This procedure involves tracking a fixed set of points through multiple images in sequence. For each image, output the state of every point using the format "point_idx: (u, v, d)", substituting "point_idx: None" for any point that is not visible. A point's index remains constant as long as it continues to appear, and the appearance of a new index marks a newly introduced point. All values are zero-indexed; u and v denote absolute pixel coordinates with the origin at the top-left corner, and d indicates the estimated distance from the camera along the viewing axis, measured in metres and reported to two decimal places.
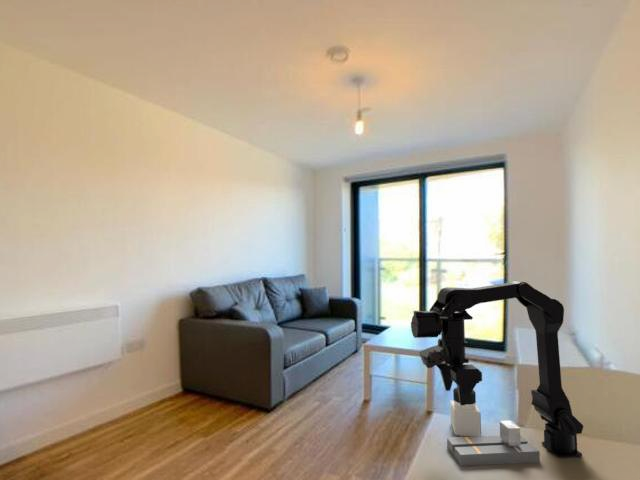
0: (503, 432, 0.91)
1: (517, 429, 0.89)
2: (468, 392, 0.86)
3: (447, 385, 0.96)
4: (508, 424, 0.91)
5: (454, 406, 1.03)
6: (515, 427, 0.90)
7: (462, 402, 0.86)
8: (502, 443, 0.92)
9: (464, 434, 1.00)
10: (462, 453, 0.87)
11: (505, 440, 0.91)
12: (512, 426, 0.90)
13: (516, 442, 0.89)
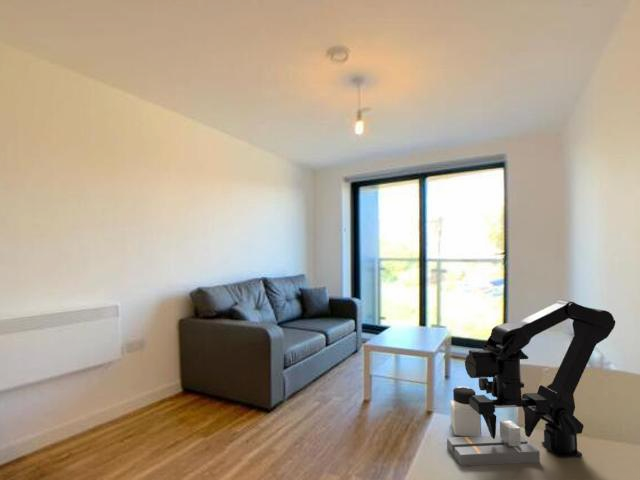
0: (503, 432, 0.91)
1: (517, 429, 0.89)
2: (490, 426, 0.90)
3: (526, 430, 0.91)
4: (508, 424, 0.91)
5: (454, 406, 1.03)
6: (515, 427, 0.90)
7: (490, 433, 0.91)
8: (502, 443, 0.92)
9: (464, 434, 1.00)
10: (462, 453, 0.87)
11: (505, 440, 0.91)
12: (512, 426, 0.90)
13: (516, 442, 0.89)
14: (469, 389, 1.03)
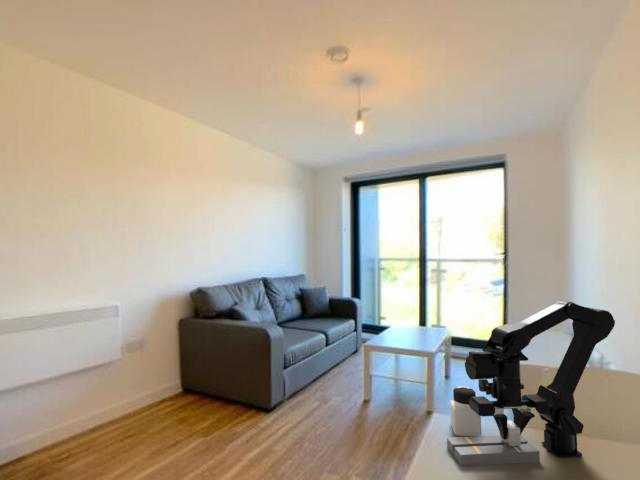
0: None
1: (517, 429, 0.89)
2: (500, 427, 0.90)
3: None
4: (508, 424, 0.91)
5: (454, 406, 1.03)
6: (515, 427, 0.90)
7: (501, 434, 0.91)
8: (502, 443, 0.92)
9: (464, 434, 1.00)
10: (462, 453, 0.87)
11: (505, 440, 0.91)
12: (512, 426, 0.90)
13: (516, 442, 0.89)
14: (469, 389, 1.03)
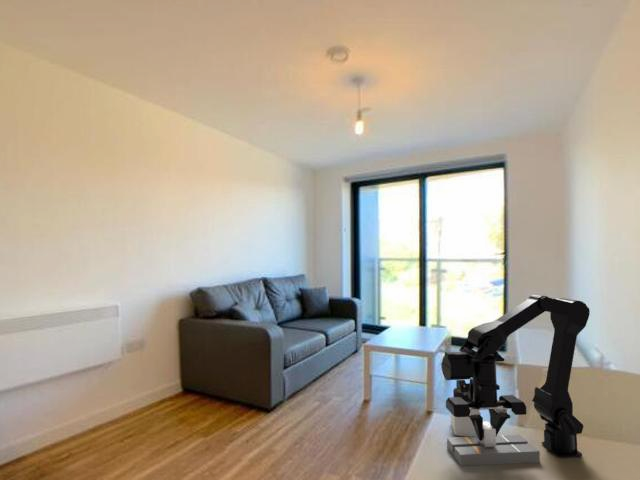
0: None
1: (493, 430, 0.89)
2: (476, 428, 0.90)
3: None
4: (484, 425, 0.91)
5: None
6: (491, 428, 0.89)
7: (477, 435, 0.91)
8: (502, 443, 0.92)
9: (464, 434, 1.00)
10: (462, 453, 0.87)
11: (481, 441, 0.90)
12: (488, 427, 0.90)
13: (492, 443, 0.89)
14: None
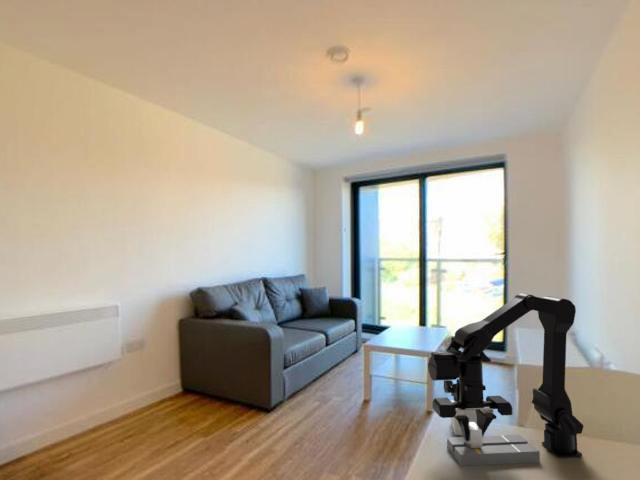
0: None
1: (479, 431, 0.89)
2: (463, 429, 0.90)
3: None
4: (471, 426, 0.91)
5: None
6: (477, 428, 0.89)
7: (464, 436, 0.91)
8: (502, 443, 0.92)
9: None
10: (462, 453, 0.87)
11: (467, 442, 0.90)
12: (474, 428, 0.90)
13: (478, 444, 0.89)
14: None
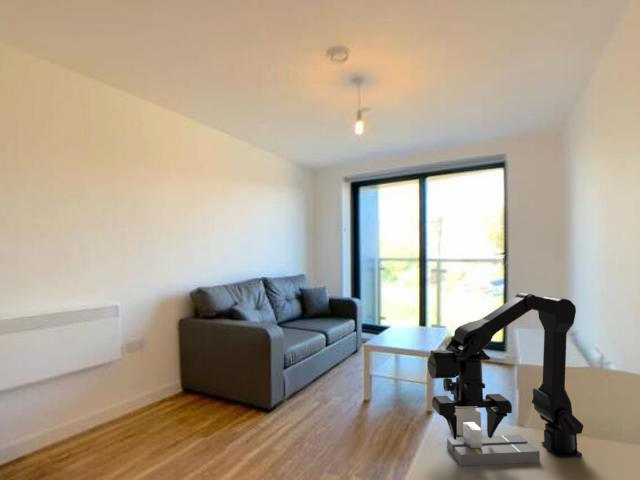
0: (466, 434, 0.91)
1: (479, 431, 0.89)
2: (451, 427, 0.89)
3: (488, 431, 0.91)
4: (470, 426, 0.91)
5: None
6: (477, 428, 0.89)
7: (452, 434, 0.90)
8: (502, 443, 0.92)
9: None
10: (462, 453, 0.87)
11: (467, 442, 0.90)
12: (474, 428, 0.90)
13: (478, 444, 0.89)
14: None
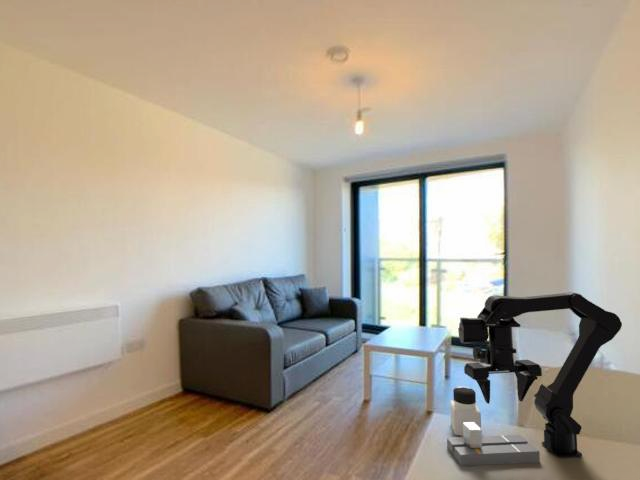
0: (466, 434, 0.91)
1: (479, 431, 0.89)
2: (484, 391, 0.93)
3: (519, 395, 0.95)
4: (470, 426, 0.91)
5: (454, 406, 1.03)
6: (477, 428, 0.89)
7: (485, 399, 0.94)
8: (502, 443, 0.92)
9: None
10: (462, 453, 0.87)
11: (467, 442, 0.90)
12: (474, 428, 0.90)
13: (478, 444, 0.89)
14: (469, 389, 1.03)
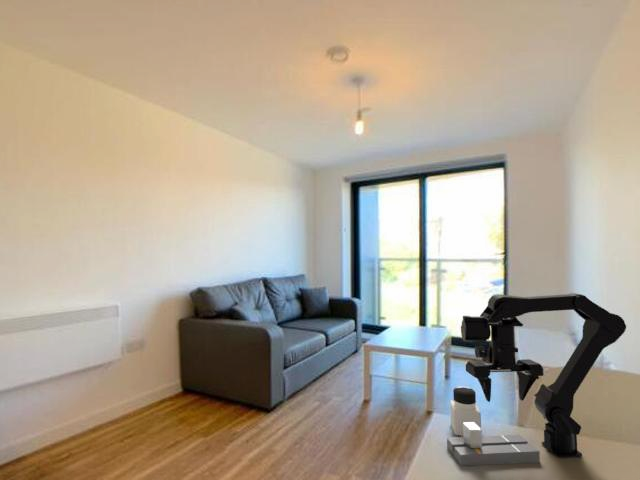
0: (466, 434, 0.91)
1: (479, 431, 0.89)
2: (485, 389, 0.94)
3: (520, 394, 0.95)
4: (470, 426, 0.91)
5: (454, 406, 1.03)
6: (477, 428, 0.89)
7: (486, 397, 0.95)
8: (502, 443, 0.92)
9: None
10: (462, 453, 0.87)
11: (467, 442, 0.90)
12: (474, 428, 0.90)
13: (478, 444, 0.89)
14: (469, 389, 1.03)
